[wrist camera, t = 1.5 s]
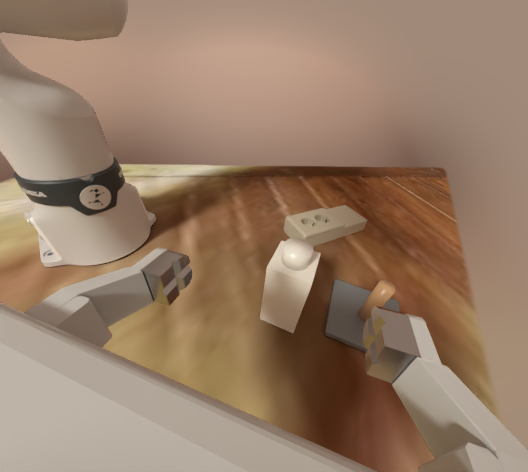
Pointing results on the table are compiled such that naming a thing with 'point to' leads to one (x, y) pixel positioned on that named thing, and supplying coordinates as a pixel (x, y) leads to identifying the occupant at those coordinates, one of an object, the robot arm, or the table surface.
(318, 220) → the electrical outlet
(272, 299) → the tapered lotion bottle
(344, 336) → the peg stand
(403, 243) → the table surface
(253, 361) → the table surface
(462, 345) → the table surface
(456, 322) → the table surface
